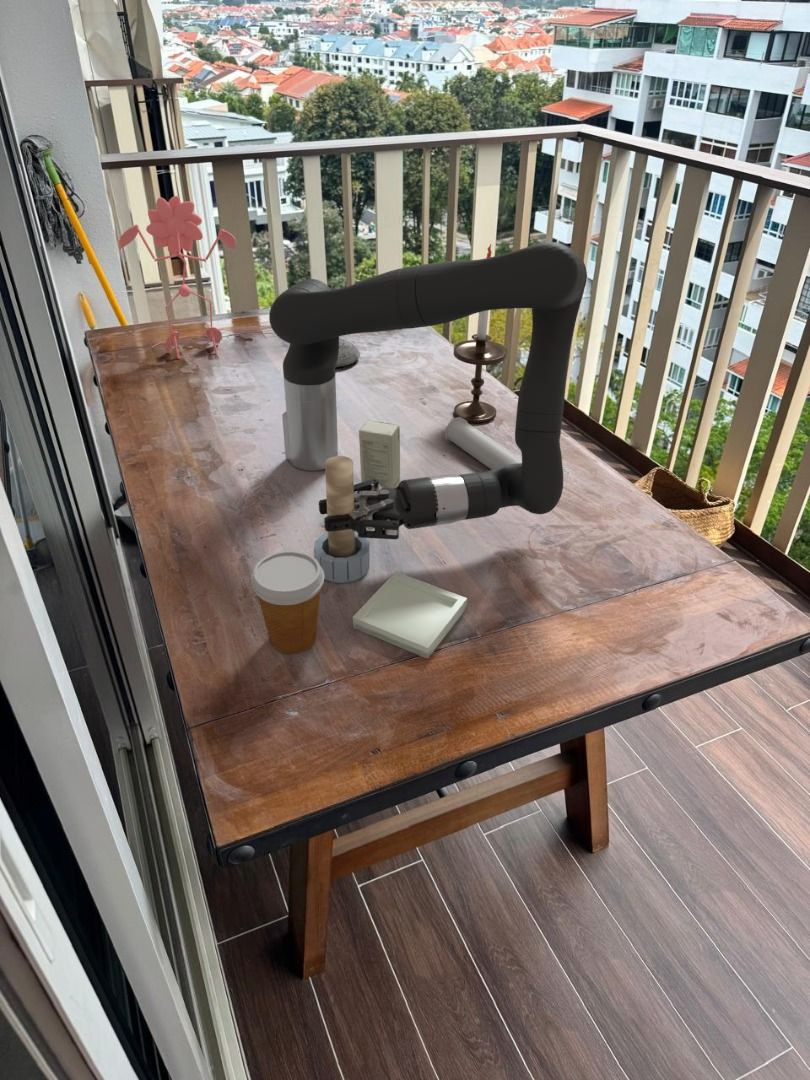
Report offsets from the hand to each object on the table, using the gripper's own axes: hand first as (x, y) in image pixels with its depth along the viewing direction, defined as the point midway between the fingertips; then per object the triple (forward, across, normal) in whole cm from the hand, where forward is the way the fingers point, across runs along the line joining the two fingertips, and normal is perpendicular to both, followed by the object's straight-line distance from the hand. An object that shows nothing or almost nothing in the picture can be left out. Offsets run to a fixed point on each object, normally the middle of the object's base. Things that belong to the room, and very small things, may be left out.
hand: (322, 515), depth 111 cm
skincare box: (-14, -21, +10) cm, 27 cm away
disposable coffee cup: (+7, +14, +10) cm, 19 cm away
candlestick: (-41, -45, +10) cm, 62 cm away
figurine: (+16, -96, +10) cm, 98 cm away
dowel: (-3, 0, +9) cm, 10 cm away
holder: (-3, 0, +10) cm, 10 cm away
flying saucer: (-16, -81, +10) cm, 84 cm away
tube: (-37, -24, +10) cm, 45 cm away
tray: (-10, +14, +10) cm, 20 cm away
